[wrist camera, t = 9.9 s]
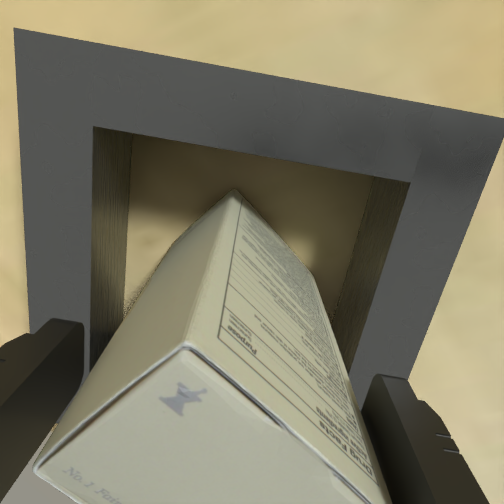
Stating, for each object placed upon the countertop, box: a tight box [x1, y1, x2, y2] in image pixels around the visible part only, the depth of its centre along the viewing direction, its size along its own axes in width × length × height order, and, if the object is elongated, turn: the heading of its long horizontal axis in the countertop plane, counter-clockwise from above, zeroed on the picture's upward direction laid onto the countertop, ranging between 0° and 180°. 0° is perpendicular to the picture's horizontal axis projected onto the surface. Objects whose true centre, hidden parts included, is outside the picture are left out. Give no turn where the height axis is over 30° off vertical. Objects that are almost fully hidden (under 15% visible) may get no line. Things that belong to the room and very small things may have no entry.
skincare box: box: [33, 189, 392, 504], centre depth 12 cm, size 6×4×12 cm
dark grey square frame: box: [14, 28, 504, 423], centre depth 16 cm, size 16×16×4 cm
